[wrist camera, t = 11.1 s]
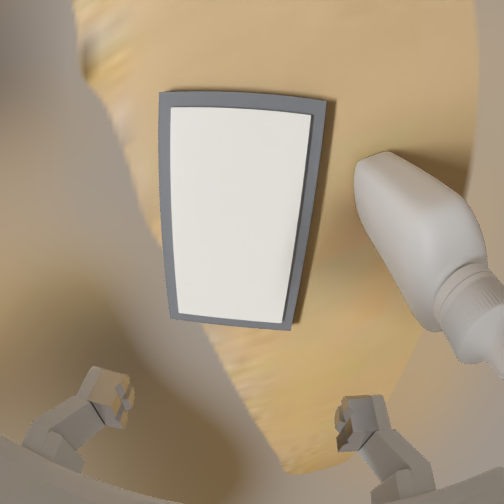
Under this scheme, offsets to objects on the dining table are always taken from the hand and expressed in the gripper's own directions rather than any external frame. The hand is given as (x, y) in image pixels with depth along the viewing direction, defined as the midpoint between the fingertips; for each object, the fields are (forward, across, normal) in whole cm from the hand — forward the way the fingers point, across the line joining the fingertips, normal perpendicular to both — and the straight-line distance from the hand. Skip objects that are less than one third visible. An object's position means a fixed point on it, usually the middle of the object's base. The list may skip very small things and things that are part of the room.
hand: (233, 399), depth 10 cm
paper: (+9, +1, -3) cm, 9 cm away
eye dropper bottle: (+9, -7, -5) cm, 13 cm away
